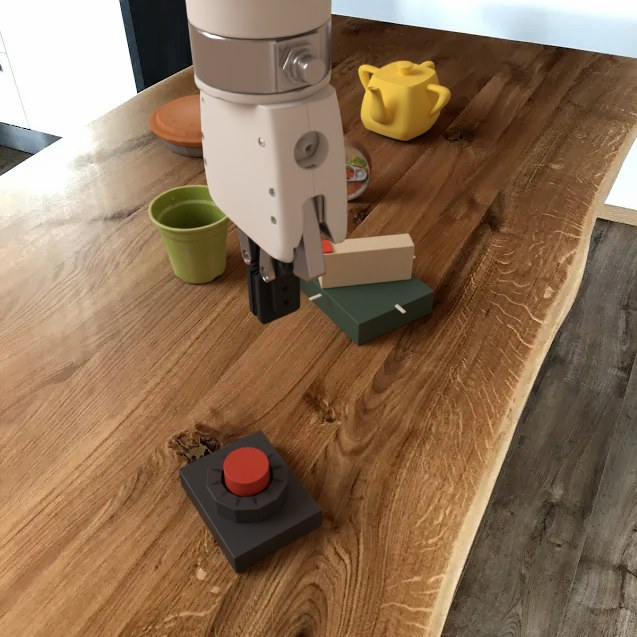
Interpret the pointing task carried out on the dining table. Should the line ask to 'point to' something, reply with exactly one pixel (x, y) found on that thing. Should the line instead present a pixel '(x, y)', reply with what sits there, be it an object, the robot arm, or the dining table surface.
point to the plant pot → (191, 232)
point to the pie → (180, 125)
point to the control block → (250, 505)
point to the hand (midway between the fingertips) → (275, 311)
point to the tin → (356, 168)
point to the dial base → (371, 305)
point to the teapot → (401, 98)
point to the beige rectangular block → (367, 260)
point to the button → (246, 471)
